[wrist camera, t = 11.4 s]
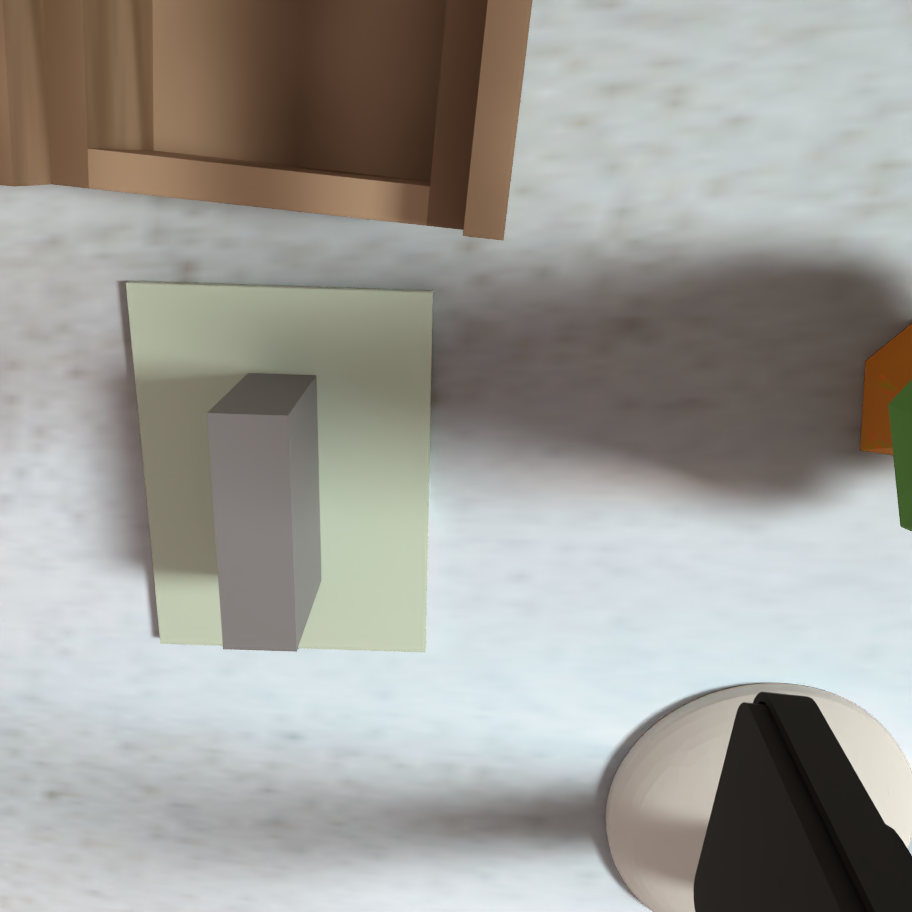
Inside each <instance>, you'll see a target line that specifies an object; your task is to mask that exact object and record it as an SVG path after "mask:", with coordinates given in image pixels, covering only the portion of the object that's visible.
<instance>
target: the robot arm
mask: <svg viewBox="0 0 912 912" xmlns="http://www.w3.org/2000/svg"><path fill="white" fill-rule="evenodd" d="M693 892H694V907H695V912H912V856H911V854H910V852H909V850H908V849H907V847H906V845H905V844H904V842H903V840H902V839H901V838H900V836H899V835H898V834H897V832H896V831H895V830H894V829H893V828H891V827H890V826H888V825H886V824H885V822H884V821H883V819H882V817H881V815H880V814H879V812H878V810H877V808H876V807H875V805H874V803H873V801H872V800H871V798H870V796H869V794H868V793H867V791H866V789H865V787H864V786H863V784H862V782H861V780H860V779H859V777H858V775H857V773H856V772H855V770H854V768H853V766H852V765H851V763H850V761H849V759H848V758H847V756H846V754H845V752H844V751H843V749H842V747H841V745H840V744H839V742H838V740H837V739H836V737H835V735H834V733H833V732H832V730H831V728H830V726H829V725H828V723H827V721H826V719H825V718H824V716H823V714H822V712H821V711H820V709H819V707H818V705H817V704H816V702H815V701H814V700H813V699H812V698H810V697H807V696H798V695H789V694H780V693H771V692H760V693H758V694H757V696H756V697H755V698H754V701H753V703H746V702H743V703H741V704H740V706H739V707H738V710H737V713H736V717H735V720H734V724H733V728H732V732H731V736H730V740H729V744H728V748H727V752H726V756H725V760H724V764H723V768H722V772H721V776H720V780H719V783H718V787H717V791H716V795H715V799H714V803H713V807H712V811H711V815H710V819H709V823H708V827H707V831H706V835H705V839H704V843H703V846H702V850H701V854H700V858H699V862H698V866H697V870H696V874H695V879H694V889H693Z"/></svg>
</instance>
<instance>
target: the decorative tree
mask: <svg viewBox="0 0 912 912" xmlns="http://www.w3.org/2000/svg"><path fill="white" fill-rule="evenodd" d="M860 451H867V452H874V453H882V454H889V455H893V457H894V467H895V477H896V487H897V497H898V506H899V516H900V526H901V527H903V528H905V529H908V530H910V531H912V324H910V325H909V326H908V327H907V328H906V329H904V330H903V331H902V332H901V333H899V334H898V335H897V336H896V337H895V338H893V339H892V340H891V341H890V342H888V343H887V344H886V345H885V346H884V347H882V348H881V349H880V350H879V351H877V352H876V353H875V354H874V355H872V356H871V357H870V358H869V359H868V360H866V361H865V377H864V394H863V411H862V429H861V446H860Z"/></svg>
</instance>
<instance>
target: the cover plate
mask: <svg viewBox="0 0 912 912" xmlns="http://www.w3.org/2000/svg"><path fill="white" fill-rule="evenodd" d="M126 291H127V301H128V312H129V322H130V333H131V343H132V354H133V364H134V374H135V385H136V395H137V406H138V416H139V426H140V437H141V447H142V458H143V468H144V479H145V489H146V499H147V510H148V520H149V531H150V541H151V551H152V562H153V572H154V583H155V593H156V603H157V614H158V624H159V635H160V644H190V645H221V646H223V649H238V650H268V651H297V649H298V648H311V649H341V650H371V651H401V652H425V650H426V615H427V565H428V514H429V464H430V413H431V363H432V313H433V290H407V289H375V288H343V287H311V286H278V285H246V284H214V283H181V282H149V281H130V282H127V283H126Z"/></svg>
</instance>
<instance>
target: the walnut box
mask: <svg viewBox="0 0 912 912" xmlns="http://www.w3.org/2000/svg"><path fill="white" fill-rule="evenodd" d="M531 7H532V0H0V185H6V186H28V185H45V184H55V185H64V186H73V187H82V188H91V189H100V190H109V191H118V192H127V193H136V194H145V195H154V196H163V197H172V198H182V199H191V200H200V201H209V202H218V203H227V204H236V205H245V206H254V207H263V208H272V209H281V210H290V211H299V212H308V213H317V214H327V215H336V216H345V217H354V218H363V219H372V220H381V221H390V222H399V223H408V224H417V225H426V226H435V227H444V228H453V229H463V236H469V237H478V238H487V239H496V240H503V239H504V231H505V222H506V214H507V206H508V197H509V189H510V181H511V173H512V164H513V156H514V148H515V139H516V131H517V123H518V115H519V106H520V98H521V90H522V81H523V73H524V65H525V57H526V48H527V40H528V32H529V23H530V15H531Z"/></svg>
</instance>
